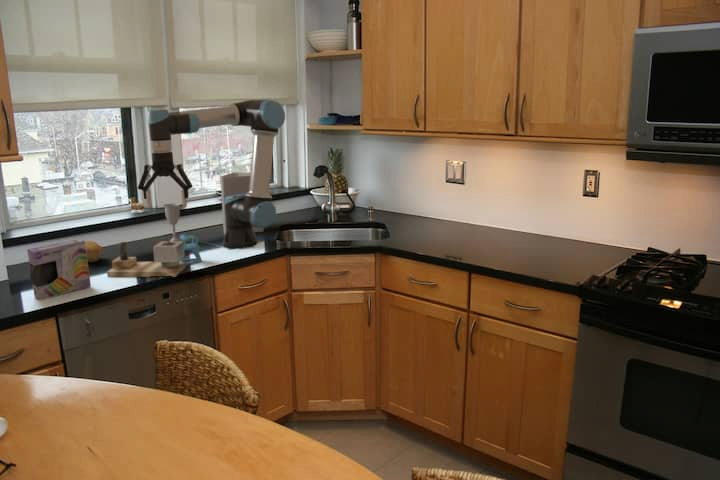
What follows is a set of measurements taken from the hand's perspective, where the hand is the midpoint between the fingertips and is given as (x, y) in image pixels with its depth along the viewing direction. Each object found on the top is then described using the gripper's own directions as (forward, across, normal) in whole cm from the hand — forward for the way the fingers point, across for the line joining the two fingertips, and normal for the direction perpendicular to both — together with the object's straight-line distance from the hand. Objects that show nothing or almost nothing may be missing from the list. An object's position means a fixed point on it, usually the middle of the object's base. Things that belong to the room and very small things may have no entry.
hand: (167, 207), depth 240 cm
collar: (+20, 0, -3) cm, 20 cm away
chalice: (+25, -12, +43) cm, 51 cm away
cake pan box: (+25, -30, -28) cm, 48 cm away
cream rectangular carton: (+26, +13, +69) cm, 75 cm away
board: (+25, -9, -2) cm, 27 cm away
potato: (+25, -38, +12) cm, 47 cm away
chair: (+25, +4, +10) cm, 28 cm away
